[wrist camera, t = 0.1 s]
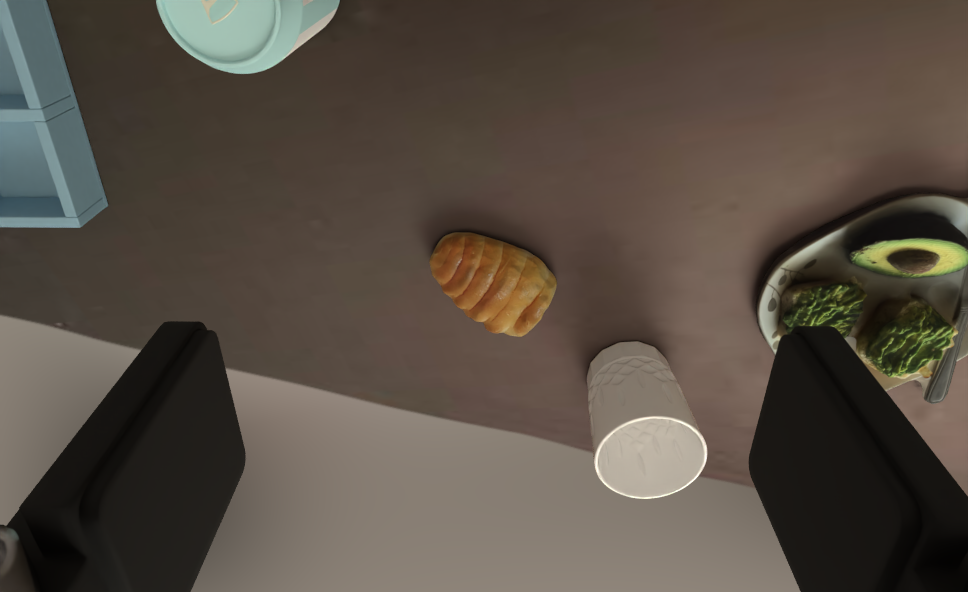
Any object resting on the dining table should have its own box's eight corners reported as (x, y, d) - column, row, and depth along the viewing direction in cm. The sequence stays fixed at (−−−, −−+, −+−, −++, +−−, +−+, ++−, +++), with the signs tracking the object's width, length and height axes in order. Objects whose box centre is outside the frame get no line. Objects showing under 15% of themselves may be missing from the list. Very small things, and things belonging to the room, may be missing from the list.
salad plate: (1030, 347, 55) (1072, 382, 51) (811, 434, 60) (833, 473, 56) (976, 147, 47) (1020, 171, 43) (727, 267, 52) (746, 299, 48)
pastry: (414, 274, 52) (408, 299, 49) (460, 205, 49) (458, 227, 46) (516, 330, 55) (517, 358, 51) (565, 268, 52) (570, 293, 49)
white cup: (692, 351, 56) (729, 435, 47) (647, 420, 59) (673, 510, 51) (605, 321, 54) (625, 402, 46) (564, 394, 58) (576, 482, 49)
